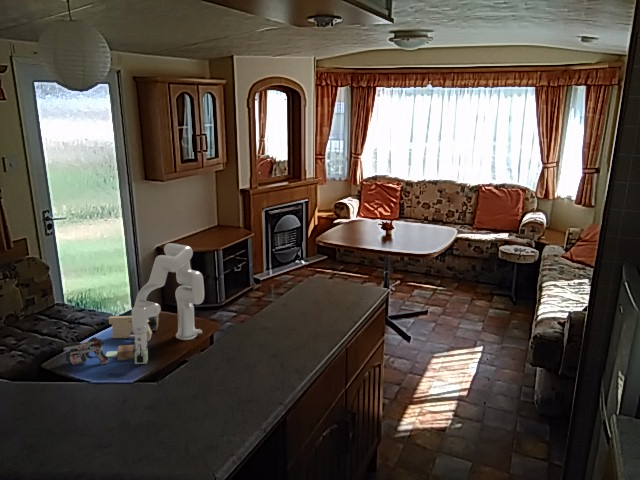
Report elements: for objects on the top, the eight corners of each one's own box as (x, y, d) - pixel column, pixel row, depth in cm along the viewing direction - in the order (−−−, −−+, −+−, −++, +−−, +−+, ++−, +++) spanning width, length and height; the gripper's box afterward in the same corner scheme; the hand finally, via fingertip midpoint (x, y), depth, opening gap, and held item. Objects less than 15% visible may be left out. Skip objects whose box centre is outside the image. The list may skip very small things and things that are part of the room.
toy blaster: (70, 367, 281) (63, 341, 277) (110, 360, 281) (103, 334, 278) (68, 370, 277) (60, 344, 273) (108, 363, 278) (101, 337, 274)
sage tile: (118, 352, 293) (118, 351, 293) (116, 356, 287) (116, 355, 287) (107, 352, 292) (107, 351, 292) (105, 357, 286) (104, 356, 286)
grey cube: (145, 348, 299) (145, 338, 298) (147, 352, 294) (146, 342, 293) (134, 349, 297) (134, 339, 295) (136, 354, 291) (135, 344, 290)
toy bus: (140, 333, 318) (140, 317, 317) (143, 320, 340) (143, 305, 339) (157, 331, 321) (157, 316, 319) (159, 319, 343) (159, 304, 341)
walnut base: (134, 352, 293) (133, 344, 292) (133, 359, 286) (132, 350, 284) (119, 354, 291) (118, 345, 290) (117, 360, 283) (117, 352, 282)
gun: (153, 338, 311) (150, 315, 308) (150, 341, 308) (147, 317, 305) (114, 339, 314) (110, 315, 311) (111, 341, 311) (107, 317, 307)
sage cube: (148, 358, 287) (147, 348, 285) (146, 363, 281) (146, 353, 280) (136, 359, 286) (136, 348, 284) (134, 364, 280) (134, 353, 278)
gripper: (145, 334, 271) (146, 365, 275) (149, 322, 288) (150, 351, 292) (130, 335, 270) (131, 366, 274) (135, 322, 286) (136, 351, 290)
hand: (141, 358), depth 283 cm, fingers open, 9 cm apart
